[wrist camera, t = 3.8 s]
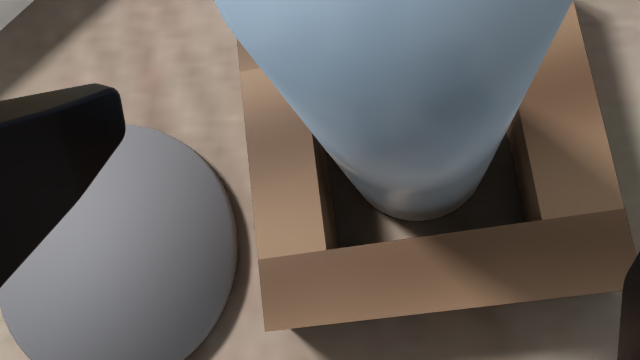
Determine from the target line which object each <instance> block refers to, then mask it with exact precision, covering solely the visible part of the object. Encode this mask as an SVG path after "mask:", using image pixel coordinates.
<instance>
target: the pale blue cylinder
mask: <svg viewBox="0 0 640 360" xmlns="http://www.w3.org/2000/svg"><path fill="white" fill-rule="evenodd" d="M214 1H215V3H216V5H217V7H218V9H219V11H220V13H221V15H222V17H223V19H224V21H225V22H226V24H227V25H228V27H229V28H230V30H231V31H232V32H233V34H234V35H235V37H236V38H237V39H238V41H239V42H240V43H241V44H242V46H243V47H244V48H245V49H246V51H247V52H248V53H249V54H250V56H251V57H252V58H253V59H254V61H255V62H256V63H257V64H258V66H259V67H260V68H261V69H262V71H263V72H264V73H265V75H266V76H267V77H268V78H269V80H270V81H271V82H272V83H273V85H274V86H275V87H276V88H277V90H278V91H279V92H280V93H281V95H282V96H283V97H284V98H285V100H286V101H287V102H288V103H289V105H290V106H291V107H292V108H293V110H294V111H295V112H296V113H297V115H298V116H299V117H300V118H301V120H302V121H303V122H304V123H305V125H306V126H307V127H308V128H309V130H310V131H311V132H312V134H313V135H314V136H315V137H316V139H317V140H318V141H319V142H320V144H321V145H322V146H323V147H324V149H325V150H326V151H327V152H328V154H329V155H330V156H331V157H332V159H333V160H334V161H335V162H336V164H337V165H338V166H339V167H340V169H341V170H342V171H343V172H344V174H345V175H346V176H347V177H348V179H349V180H350V181H351V182H352V184H353V185H354V186H355V187H356V189H357V190H358V191H359V193H360V194H361V195H362V196H363V197H364V198H365V199H366V201H367V202H369V203H370V204H371V205H372V206H373V207H375V208H376V209H378V210H379V211H381V212H383V213H385V214H387V215H389V216H391V217H395V218H398V219H402V220H408V221H424V220H431V219H435V218H439V217H441V216H444V215H447V214H449V213H451V212H453V211H454V210H456V209H457V208H459V207H460V206H462V205H463V204H464V203H465V202H466V201H467V200H468V199H469V198H470V197H471V196H472V195H473V193H474V192H475V191H476V189H477V188H478V186H479V185H480V183H481V181H482V179H483V177H484V175H485V173H486V171H487V169H488V167H489V165H490V163H491V161H492V159H493V157H494V155H495V153H496V151H497V149H498V147H499V145H500V143H501V141H502V139H503V137H504V135H505V133H506V131H507V129H508V128H509V126H510V124H511V122H512V120H513V118H514V116H515V114H516V112H517V110H518V108H519V106H520V104H521V102H522V100H523V98H524V96H525V94H526V92H527V90H528V88H529V86H530V84H531V82H532V80H533V78H534V76H535V74H536V72H537V71H538V69H539V67H540V65H541V63H542V61H543V59H544V57H545V55H546V53H547V51H548V49H549V47H550V45H551V43H552V41H553V39H554V37H555V35H556V33H557V31H558V29H559V27H560V25H561V23H562V21H563V19H564V17H565V15H566V13H567V12H568V10H569V8H570V6H571V4H572V2H573V0H214Z"/></svg>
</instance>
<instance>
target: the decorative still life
mask: <svg viewBox="0 0 640 360" xmlns="http://www.w3.org/2000/svg"><path fill="white" fill-rule="evenodd" d="M33 1H34V0H0V31H1V30H2V29H3V28H4V27H5V26H6V25H7V24H8V23H10V22H11V21H12V20H13V19H14V18H15V17H16V16H17V15H19V14H20V13H21V12H22V11H23V10H24V9H25V8H26V7H28V6H29V5H30V4H31V3H32V2H33Z"/></svg>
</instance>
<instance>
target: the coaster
mask: <svg viewBox="0 0 640 360" xmlns="http://www.w3.org/2000/svg"><path fill="white" fill-rule="evenodd" d="M237 258H238V233H237V227H236V220H235V215H234V212H233V208H232V205H231V201H230V199H229V197H228V195H227V192H226V190H225V188H224V186H223V184H222V182H221V181H220V179H219V177H218V176H217V174H216V173H215V171H214V170H213V169H212V168H211V167H210V165H209V164H208V163H207V162H206V161H205V160H204V159H203V158H202V157H201V156H200V155H199V154H198V153H197V152H196V151H194V150H193V149H191V148H190V147H188V146H187V145H186V144H184V143H183V142H181V141H179V140H177V139H175V138H173V137H171V136H169V135H167V134H165V133H163V132H160V131H157V130H154V129H151V128H147V127H141V126H134V125H126V132H125V136H124V138H123V140H122V142H121V143H120V145H119V146H118V147H117V149H116V150H115V151H114V153H113V154H112V156H111V157H110V158H109V160H108V161H107V163H106V164H105V165H104V167H103V168H102V169H101V171H100V172H99V174H98V175H97V176H96V178H95V179H94V180H93V182H92V183H91V185H90V186H89V187H88V189H87V190H86V191H85V193H84V194H83V195H82V197H81V198H80V199H79V200H78V202H77V203H76V204H75V205H74V206H73V207H72V209H71V210H70V211H69V212H68V213H67V214H66V215H65V216H64V218H63V219H62V220H61V221H60V222H59V223H58V224H57V225H56V226H55V228H54V229H53V230H52V231H51V232H50V233H49V234H48V235H47V236H46V238H45V239H44V240H43V241H42V242H41V243H40V244H39V245H38V247H37V248H36V249H35V250H34V251H33V252H32V253H31V254H30V255H29V257H28V258H27V259H26V260H25V261H24V262H23V263H22V264H21V265H20V267H19V268H18V269H17V270H16V271H15V272H14V273H13V274H12V276H11V277H10V278H9V279H8V280H7V281H6V282H5V283H4V284H3V286H2V287H1V288H0V308H1V311H2V315H3V318H4V320H5V322H6V324H7V327H8V329H9V331H10V333H11V335H12V336H13V338H14V340H15V341H16V343H17V344H18V346H19V347H20V348H21V349H22V351H23V352H24V353H25V354H26V356H27V357H28V358H29V359H30V360H185V359H186V358H187V357H188V356H189V355H191V354H192V353H193V352H194V351H195V350H196V349H197V348H198V347H199V346H200V345H201V343H202V342H203V341H204V340H205V339H206V338H207V336H208V335H209V334H210V332H211V331H212V329H213V328H214V326H215V325H216V323H217V322H218V320H219V318H220V316H221V314H222V312H223V310H224V308H225V306H226V304H227V301H228V298H229V295H230V293H231V290H232V287H233V282H234V278H235V273H236V268H237Z"/></svg>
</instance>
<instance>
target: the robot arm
mask: <svg viewBox="0 0 640 360" xmlns="http://www.w3.org/2000/svg"><path fill="white" fill-rule="evenodd" d="M125 132H126V125H125V120H124V114H123V109H122V103H121V98H120V94H119V93H118V91H117V90H116V89H114V88H112V87H108V86H105V85H101V84H95V83H94V84H88V85H83V86H77V87H72V88H67V89H61V90H56V91H51V92H45V93H40V94H35V95H29V96H24V97H19V98H13V99H8V100H3V101H0V288H1V287H2V286H3V284H4V283H5V282H6V281H7V280H8V279H9V278H10V277H11V276H12V274H13V273H14V272H15V271H16V270H17V269H18V268H19V267H20V265H21V264H22V263H23V262H24V261H25V260H26V259H27V258H28V257H29V255H30V254H31V253H32V252H33V251H34V250H35V249H36V248H37V247H38V245H39V244H40V243H41V242H42V241H43V240H44V239H45V238H46V236H47V235H48V234H49V233H50V232H51V231H52V230H53V229H54V228H55V226H56V225H57V224H58V223H59V222H60V221H61V220H62V219H63V218H64V216H65V215H66V214H67V213H68V212H69V211H70V210H71V209H72V207H73V206H74V205H75V204H76V203H77V202H78V200H79V199H80V198H81V197H82V195H83V194H84V193H85V191H86V190H87V189H88V187H89V186H90V185H91V183H92V182H93V180H94V179H95V178H96V176H97V175H98V174H99V172H100V171H101V169H102V168H103V167H104V165H105V164H106V163H107V161H108V160H109V158H110V157H111V156H112V154H113V153H114V151H115V150H116V149H117V147H118V146H119V145H120V143H121V142H122V140H123V138H124V136H125ZM617 360H640V252H639V254H638V255H637V257H636V259H635V260H634V262H633V264H632V265H631V267H630V268H629V270H628V272H627V274H626V277H625V280H624V284H623V292H622V305H621V318H620V331H619V344H618V357H617Z"/></svg>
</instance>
